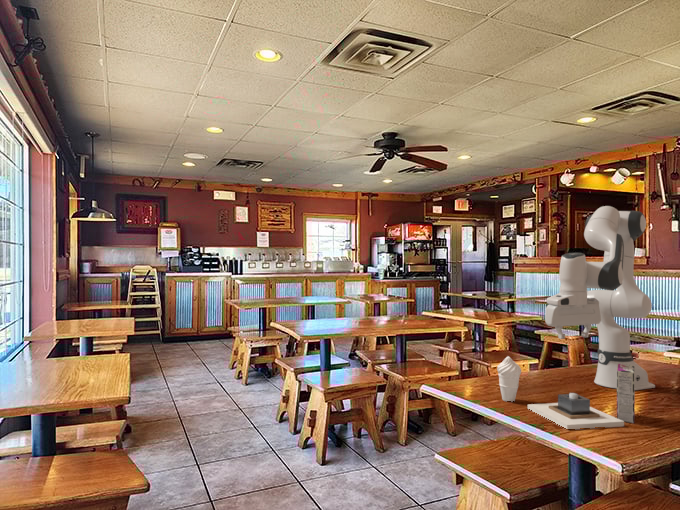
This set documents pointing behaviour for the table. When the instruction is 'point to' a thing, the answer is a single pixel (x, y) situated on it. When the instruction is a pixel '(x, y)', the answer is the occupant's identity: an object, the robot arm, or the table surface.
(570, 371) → the table surface
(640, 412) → the table surface
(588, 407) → the grey square tube
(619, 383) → the candy bar box
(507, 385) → the soft serve ice cream cone
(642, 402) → the table surface
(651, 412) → the table surface
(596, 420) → the post board
